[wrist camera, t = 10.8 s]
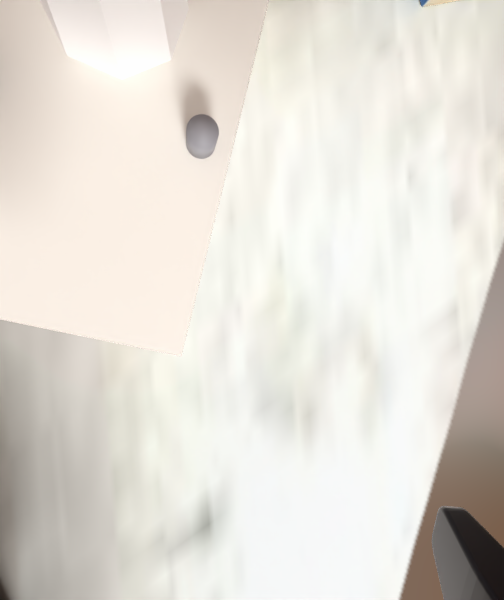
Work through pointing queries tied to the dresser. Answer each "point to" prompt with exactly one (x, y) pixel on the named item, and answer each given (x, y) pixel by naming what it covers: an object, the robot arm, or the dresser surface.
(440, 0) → the stack of blocks
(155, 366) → the dresser surface
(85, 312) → the cream board with pegs
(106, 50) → the pepper shaker
